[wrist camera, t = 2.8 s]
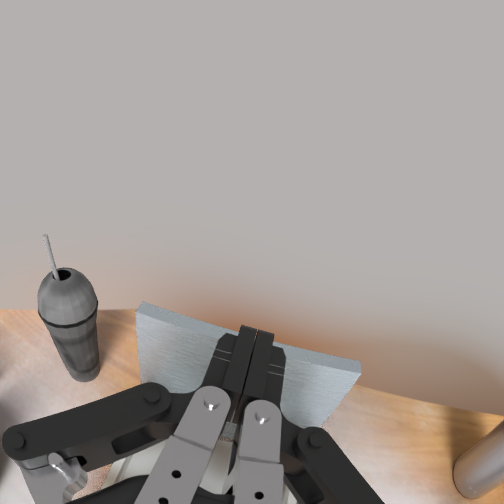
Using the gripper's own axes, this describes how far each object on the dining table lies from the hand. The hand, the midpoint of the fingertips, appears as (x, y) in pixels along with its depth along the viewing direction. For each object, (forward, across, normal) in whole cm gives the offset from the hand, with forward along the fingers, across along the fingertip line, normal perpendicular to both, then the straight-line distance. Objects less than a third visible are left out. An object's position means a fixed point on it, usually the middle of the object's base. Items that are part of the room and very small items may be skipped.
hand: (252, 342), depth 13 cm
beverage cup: (+9, +19, +24) cm, 32 cm away
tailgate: (+4, 0, +19) cm, 19 cm away
